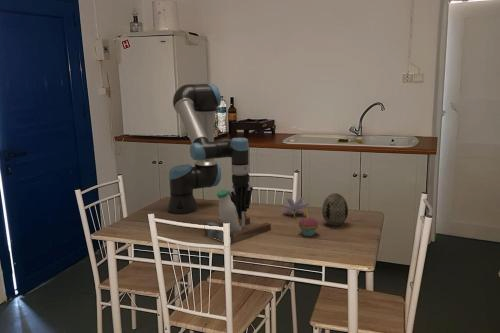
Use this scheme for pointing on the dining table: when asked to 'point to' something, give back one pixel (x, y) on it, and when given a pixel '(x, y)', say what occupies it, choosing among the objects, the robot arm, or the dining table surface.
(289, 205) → the water lily
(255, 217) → the dining table surface
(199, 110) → the robot arm
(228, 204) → the milk bottle
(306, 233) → the cupcake
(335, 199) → the decorative egg
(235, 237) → the guide channel
